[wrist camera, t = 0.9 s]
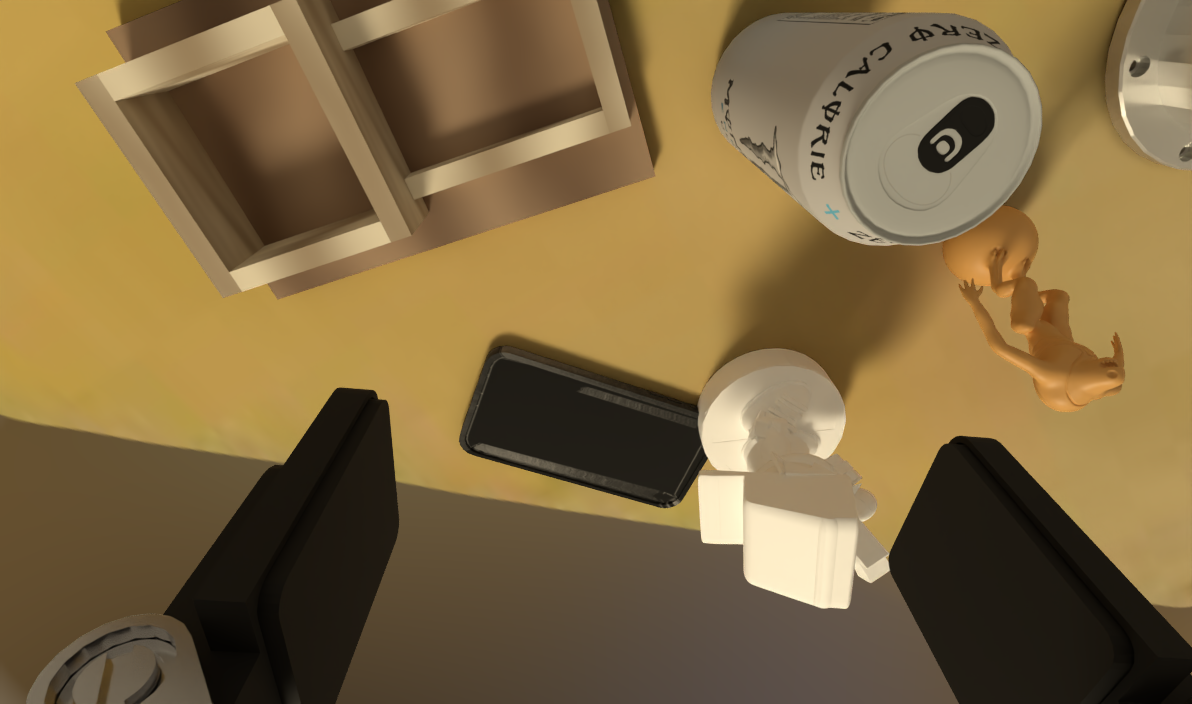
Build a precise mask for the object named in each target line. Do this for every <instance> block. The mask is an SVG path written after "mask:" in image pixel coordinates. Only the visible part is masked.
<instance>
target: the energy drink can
mask: <svg viewBox="0 0 1192 704" xmlns="http://www.w3.org/2000/svg"><path fill="white" fill-rule="evenodd" d="M711 102H712V110H713V114H714V118H715V122H716V124H717V126H718V128H719V130H720V132H721V133H722V134H723V136H724V137H725V138H726V140H727V141H728V142H729V143H730V144H731V145H732V146H734V147H735V148H736V149H737V150H738V151H739V152H740V153H742V154H743V155H744V156H745V157H746V158H747V159H748V160H750V161H751V162H752V163H753V164H754V165H755V166H757V167H758V168H759V169H760V170H761V171H762V172H763V173H765V174H766V175H767V176H768V177H769V178H770V179H771V180H773V181H774V182H775V183H776V184H777V185H778V186H779V187H781V188H782V189H783V190H784V191H785V192H786V193H787V194H789V195H790V196H791V197H792V198H793V199H794V200H795V201H797V202H798V203H799V204H800V205H801V206H802V207H803V208H805V209H806V210H807V211H808V212H809V213H810V214H812V215H813V216H814V217H815V218H816V219H817V220H818V221H820V222H821V223H822V224H823V225H824V226H826V227H827V228H828V229H829V230H831V231H832V232H833V233H835V234H837V235H839V236H841V237H843V238H845V239H847V240H849V241H853V242H857V243H861V244H866V245H881V246H890V245H896V244H901V245H926V244H933V243H939V242H942V241H945V240H948V239H951V238H954V237H957V236H959V235H961V234H963V233H964V232H966V231H968V230H970V229H972V228H974V227H976V226H977V225H979V224H980V223H981V222H983V221H984V220H986V219H987V218H988V217H990V216H991V215H992V214H993V213H994V212H995V211H996V210H998V209H999V208H1000V207H1001V206H1002V205H1003V204H1004V203H1005V202H1006V201H1007V200H1008V199H1009V197H1010V196H1011V195H1012V193H1013V192H1014V191H1015V190H1016V188H1017V187H1018V186H1019V185H1020V183H1021V181H1022V180H1023V178H1024V176H1025V174H1026V173H1027V171H1028V169H1029V167H1030V166H1031V163H1032V161H1033V158H1034V155H1035V153H1036V150H1037V148H1038V144H1039V139H1040V134H1041V129H1042V104H1041V100H1040V96H1039V91H1038V88H1037V86H1036V84H1035V82H1034V80H1033V78H1032V76H1031V74H1030V72H1029V71H1028V70H1027V69H1026V68H1025V66H1024V65H1023V64H1022V63H1021V62H1020V61H1019V60H1018V59H1017V58H1015V57H1014V56H1013V55H1012V53H1011V51H1010V49H1009V47H1008V46H1007V45H1006V44H1005V43H1004V42H1003V41H1002V39H1001V38H1000V37H999V36H998V35H997V34H996V33H995V32H994V31H993V30H991V29H990V28H988V27H986V26H985V25H983V24H981V23H980V22H978V21H977V20H974V19H971V18H967V17H964V16H961V15H957V14H949V13H780V14H774V15H770V16H767V17H765V18H762V19H760V20H757V21H755V22H754V23H752V24H751V25H749V26H748V27H746V28H745V29H744V30H742V31H741V32H740V33H739V34H738V35H737V36H736V37H735V38H734V39H733V40H732V42H731V43H730V44H729V46H728V47H727V48H726V50H725V51H724V53H723V55H722V57H721V59H720V61H719V63H718V65H717V67H716V71H715V74H714V77H713V81H712V90H711Z"/></svg>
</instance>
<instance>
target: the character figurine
mask: <svg viewBox="0 0 1192 704" xmlns="http://www.w3.org/2000/svg"><path fill="white" fill-rule="evenodd" d="M697 407H698V412H699V416H698V428H699V434H700V438H701V442H702V445H703V448H704V451H705V454H706V455H707V457H708V459H709V461H710V462H711V464H712V466H714V467H715V468H716V469H717V470H700V471H699V475H698V491H699V508H700V525H701V537H702V541H703V543H714V544H743V555H744V575H745V578H746V579H747V581H748V582H749V583H751V584H753V585H755V586H758V587H761V588H764V589H767V590H770V591H773V592H775V593H778V594H782V595H784V596H787V597H790V598H793V599H796V600H799V601H802V602H805V603H808V604H811V605H814V606H817V607H820V608H829V607H831V608H842V609H846V608H848V606H849V604H850V601H851V593H852V585H853V577H854V569H855V570H856V572H857V574H858V576H859V577H861V578H863V579H865V580H866V581H868V582H870V583H872V582H873V581H875V580H876V579H878V578H879V577H881V576H882V575H884V574H885V573H886V572H888V571H890V569H889V563H888V561H887V559H886V556H888V555H889V553H888V552H887V551H886V549H885V548H884V547H883V546H882V545H881V544H880V543H879V541H878V540H877V539H876V538H875V537H874V536H873V534H872V533H871V532H870V531H869V530H868V528H867V527H866V526H865V525H864V524H863V523H862V521H865V520H867V519H869V518H871V517H872V516H873V514H874V513H875V511H876V508H877V501H876V498H875V496H874V495H873V494H872V493H871V492H870V491H868V490H865V489H861V488H859V487H860V486H861V484H857V485H854V484H856V483H857V482H858V481H859V480H860V479H862V477H861V476H860V475H859V474H858V473H857V472H856V471H855V470H853V467H852V466H851V465H850V464H849V463H848V462H847V461H844V460H843V459H842V458H841V457H840V456H839V455H838V454H834V455H832V456H830V455H831V454H832V453H833V452H834V450H835V448H836V447H837V445H838V443H839V441H840V439H841V438H842V435H843V431H844V427H845V423H846V416H845V405H844V403H843V400H842V398H841V395H840V393H839V391H838V389H837V388H836V387H835V385H834V384H833V382H832V381H831V379H830V378H829V376H828V375H827V373H826V372H825V370H824V369H823V368H822V367H821V366H820V365H819V364H818V363H817V362H816V361H814V360H813V359H811V358H810V357H808V356H806V355H805V354H802V353H799V352H796V351H794V350H788V349H781V348H771V349H761V350H757V351H752V352H749V353H746V354H744V355H741V356H739V357H737V358H735V359H733V360H732V361H730V362H728V363H727V364H725V365H724V366H723V367H722V368H720V369H719V370H718V371H717V372H716V373H715V374H714V375H713V376H712V377H711V379H710V380H709V381H708V382H707V384H706V385H705V387H704V389H703V391H702V393H701V395H700V398H699V401H698V404H697ZM829 456H830V457H829Z"/></svg>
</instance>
